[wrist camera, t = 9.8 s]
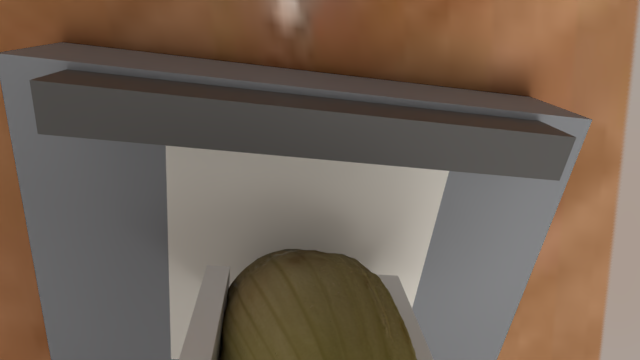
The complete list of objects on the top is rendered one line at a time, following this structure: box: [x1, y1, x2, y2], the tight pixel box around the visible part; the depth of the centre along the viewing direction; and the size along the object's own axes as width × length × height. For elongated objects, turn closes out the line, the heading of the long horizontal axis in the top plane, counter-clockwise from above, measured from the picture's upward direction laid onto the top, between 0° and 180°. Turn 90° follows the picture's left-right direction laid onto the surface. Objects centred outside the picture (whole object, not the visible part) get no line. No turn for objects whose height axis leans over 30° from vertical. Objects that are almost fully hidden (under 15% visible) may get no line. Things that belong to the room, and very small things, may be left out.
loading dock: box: [0, 42, 592, 360], centre depth 17 cm, size 20×17×6 cm
